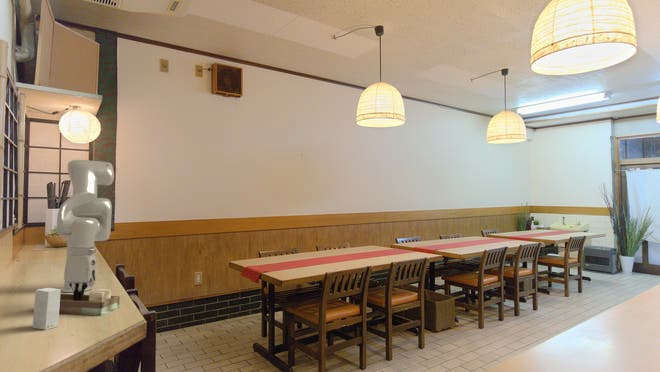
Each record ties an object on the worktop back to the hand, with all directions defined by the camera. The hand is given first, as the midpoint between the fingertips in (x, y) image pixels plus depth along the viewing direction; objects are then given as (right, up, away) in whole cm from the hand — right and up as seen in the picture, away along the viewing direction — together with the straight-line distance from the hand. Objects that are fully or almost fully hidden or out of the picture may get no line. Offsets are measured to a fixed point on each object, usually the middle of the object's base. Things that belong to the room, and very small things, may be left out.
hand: (78, 301), depth 141 cm
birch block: (+9, -1, -1) cm, 9 cm away
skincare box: (+3, -2, -21) cm, 21 cm away
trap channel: (0, -3, 0) cm, 3 cm away
